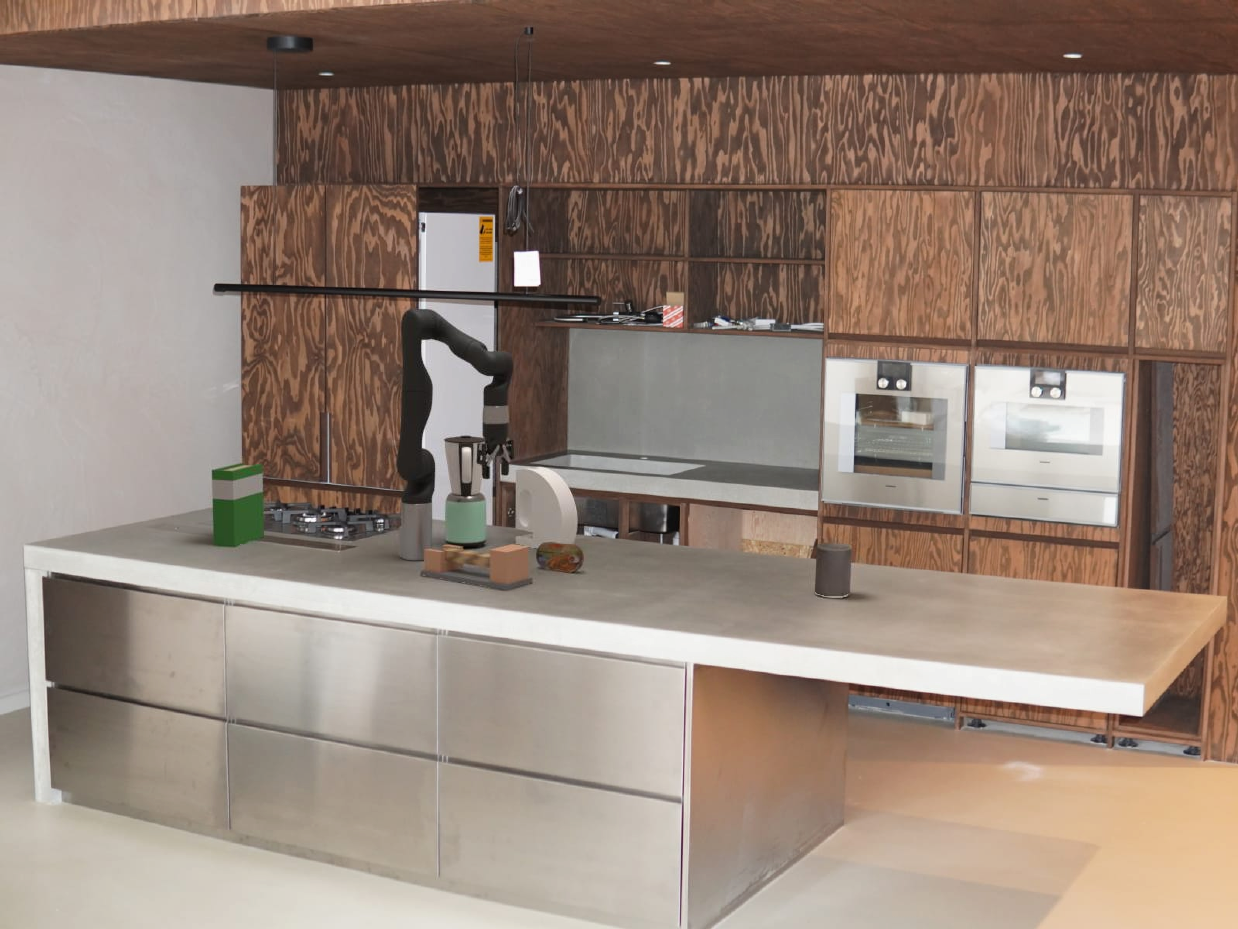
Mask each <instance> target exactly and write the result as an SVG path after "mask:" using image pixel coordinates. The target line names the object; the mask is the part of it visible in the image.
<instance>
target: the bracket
mask: <svg viewBox="0 0 1238 929" xmlns="http://www.w3.org/2000/svg"><path fill="white" fill-rule="evenodd" d="M515 529H516V530H521V531H526V532H530V533H529V534H523V535H518V536H515V545H516V544H520V545H524V546H528V547H531V548H530V549H534V548H538V547H539V546H540V545H541V544H542V543H545V542H558V543H568V544H574V543H575V541H576V538H577V537H576V536H577V532H578V511H577V506H576V502H575V498H574V496H573V493H572V492H571V489H570V487H569V486H568V484H567V483H566V482H565V480H564V478H562V476H560V475H559V474H558V473H557V472H556V471H553V470H552V469H550V468H547V467H544V466H534V467H527V468H521V469H520V468H519V469H516V470H515Z"/></svg>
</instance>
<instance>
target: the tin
mask: <svg viewBox="0 0 1238 929" xmlns="http://www.w3.org/2000/svg"><path fill="white" fill-rule="evenodd" d="M535 558H536V562H537V564H538V565H539V567H540V568H542V569H543V570H545V569H546V570H545V571H550V570H551V571H552V572H560V573H567V572H569V574H570V573H574V572H577V571H579V570H580V569H581V568H582V567H583V564H584V561H585V560H584V552H583V551H582V549H581V547H580V546H578V545H577V544H574V543H573V544H568V543H558V542H545V543H542V544H541V545H540V546H539V547H538V549H536V553H535Z"/></svg>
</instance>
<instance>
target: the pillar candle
mask: <svg viewBox="0 0 1238 929" xmlns="http://www.w3.org/2000/svg"><path fill="white" fill-rule="evenodd" d="M852 551H853V547H852V545H848V544H846V543H840V542H835V541H833V542H822V543H818V544H817V545H816V555H815V556H816V557H815V560H816V561H815V578H814V580H815V581H814V583H815V584H814V593H815V592H816V593H817V594H820V595H824V596H844V595H847V594H849V593H850V594H851V579H852V578H851V576H852V555H853V554H852V553H853V552H852Z"/></svg>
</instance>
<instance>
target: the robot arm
mask: <svg viewBox="0 0 1238 929" xmlns="http://www.w3.org/2000/svg"><path fill="white" fill-rule="evenodd" d="M400 339H401V340H400V341H401V354H402V356H401V358H402V359H401V360H402V365H401V366H402V367H401V368H402V370H401V371H402V374H401V376H402V378H401V379H402V380H401V392H400V394H401V398H400V400H401V401H400V402H401V404H400V405H401V406H400V407H401V408H400V434H399V442H398V448H397V449H398V450H397V455H396V457H397V458H396V470H397V473H398V474H399V476H400V478H401V479H402V480H404V481H405V482H406V483H407V484H406V486H405V488H404V490H403V491H402V492H401V498H400V499H401V525H400V526H399V527H398V552H399V553H398V554H399V558H401V559H403V560H406V561H424V550H425V549H433V496H434V493H435V487H436V461H435V458H434V456H433V453H431V451H430V450H428V449H426V448H424V447H423V437H424V431H425V428H426V426H427V423H428V421H429V418H430V415H431V412H432V409H433V408H432V407H433V394H434V393H433V392H434V387H433V385H434V384H433V381H432V378H431V376H430V374H429V372H428V370H427V368H426V366H425V363H424V360H423V356H422V355H423V354H422V345H423V344H422V342H423V341H429V340H431V341H432V340H434V341H437V342H440V343H442V344H445V345H446V346H447V347H448V349H449V350H450V352H451V353H452V354H454V355H455V356H456V357H457V358H458V359H461V360H462V361H464V362H466V363H468V364H470V366H472V367H473V368H474V369H475V370H476V371H477V372H478V373H479V374H481V375H483V376H485V377H493V378H492V381H491V382H490V383H489V384H487V385H485V386H484V387H483V393H482V395H483V400H482V401H483V402H482V403H483V405H482V406H483V408H482V417H481V418H482V419H481V420H482V426H481V428H482V438H485V443H478V444H477V464H480V465H482V480H489V479H491V466H490V465H491V463H492V461H493V460H494V459H495V458H496V457H499V459H500V461H501V463H500V464H501V465H500V467H501V468H500V474H501V475H500V476H503V477H504V476H509V474H510V463H511V461H514V459H515V444H514V443H515V442H514V439H513V438H511V439H510V438H509V436H510V435H509V434H510V433H509V432H510V423H509V422H510V418H509V417H510V413H509V412H510V411H509V390H510V389H509V388H510V384H511V381H512V377H513V373H514V358H513V357H512V355H511V354H510V353H509V352H508V351H506V350H495V351H494V350H493V351H491V350H490V351H489V350H488V347H487V345H486V344H485V343H483V342H482V341H480V340H478V339H476V338H474V337H473V336H471V335H469V334H467V333H465V332H463V331H462V330H460V329H458V328H457V327H456V326H454V325H453V324H452V323H450V322H449V321H448V320H447V319H446V318H444V317H443V316H442V315H440V314H439V313H438V312H437V311H435V310H433V309H430V308H410V309H407V310H406V311H404V313H403V315H402V317H401V321H400ZM481 456H482V460H481Z"/></svg>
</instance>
